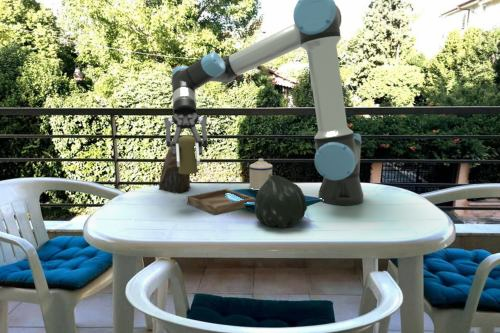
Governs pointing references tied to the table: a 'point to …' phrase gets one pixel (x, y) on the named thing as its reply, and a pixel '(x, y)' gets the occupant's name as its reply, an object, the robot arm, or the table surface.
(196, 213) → the table surface
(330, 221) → the table surface
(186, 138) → the cork
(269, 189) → the squash
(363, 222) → the table surface
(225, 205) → the tray
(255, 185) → the teacup with lid
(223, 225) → the table surface
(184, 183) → the owl
